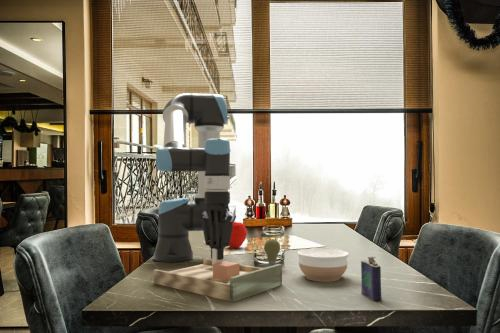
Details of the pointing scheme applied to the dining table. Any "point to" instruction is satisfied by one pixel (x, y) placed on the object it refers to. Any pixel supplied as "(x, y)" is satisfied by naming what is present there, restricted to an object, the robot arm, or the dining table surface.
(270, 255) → the light bulb
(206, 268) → the box
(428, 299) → the dining table surface
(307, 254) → the bowl
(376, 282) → the flask
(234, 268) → the block
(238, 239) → the apple
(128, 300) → the dining table surface
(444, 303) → the dining table surface
